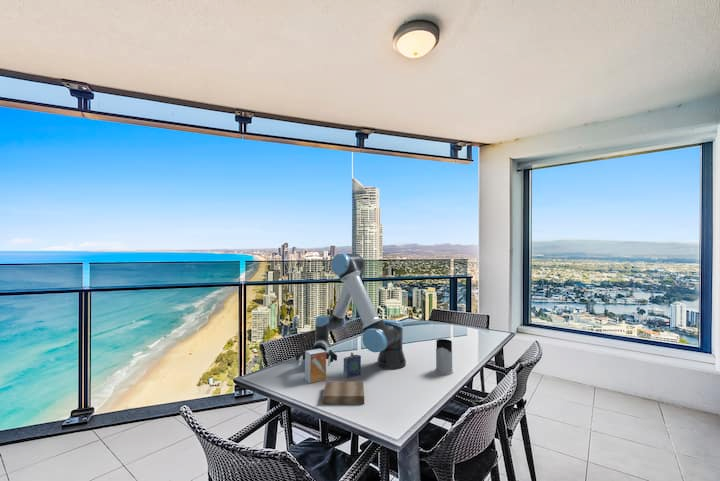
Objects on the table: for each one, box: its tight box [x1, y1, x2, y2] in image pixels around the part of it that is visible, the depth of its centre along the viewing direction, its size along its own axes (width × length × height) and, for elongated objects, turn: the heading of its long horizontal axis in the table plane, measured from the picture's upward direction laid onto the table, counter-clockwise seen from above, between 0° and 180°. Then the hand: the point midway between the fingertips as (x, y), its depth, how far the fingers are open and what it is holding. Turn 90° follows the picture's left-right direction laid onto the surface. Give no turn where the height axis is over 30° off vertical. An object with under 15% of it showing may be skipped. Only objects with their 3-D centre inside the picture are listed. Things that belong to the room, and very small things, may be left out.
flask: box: [342, 352, 362, 379], centre depth 148 cm, size 9×3×11 cm, turn 121°
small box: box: [304, 348, 327, 384], centre depth 143 cm, size 8×6×13 cm
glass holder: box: [435, 338, 454, 376], centre depth 157 cm, size 9×14×15 cm, turn 152°
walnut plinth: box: [322, 381, 365, 405], centre depth 126 cm, size 16×14×3 cm
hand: (314, 363), depth 143 cm, fingers open, 13 cm apart
